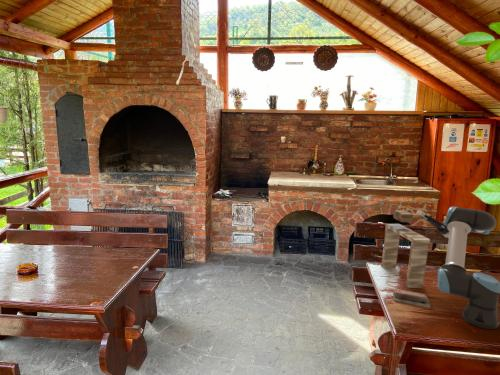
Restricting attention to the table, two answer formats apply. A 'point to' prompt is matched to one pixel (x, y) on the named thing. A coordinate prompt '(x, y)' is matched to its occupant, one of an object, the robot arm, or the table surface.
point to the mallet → (406, 216)
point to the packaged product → (411, 298)
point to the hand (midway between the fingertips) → (419, 212)
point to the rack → (416, 253)
